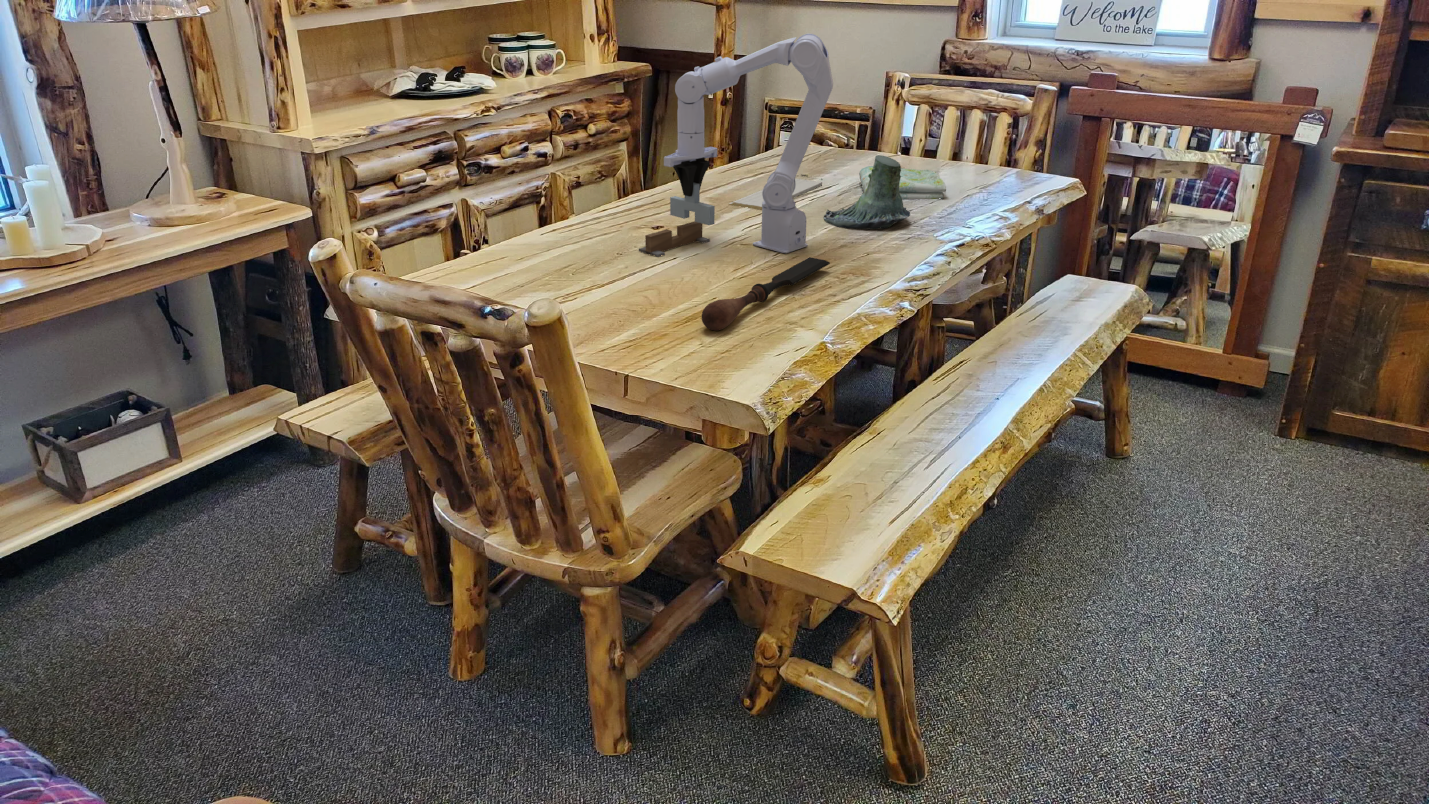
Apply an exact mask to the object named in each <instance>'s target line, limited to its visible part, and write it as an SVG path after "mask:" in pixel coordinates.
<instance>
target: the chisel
mask: <svg viewBox="0 0 1429 804" xmlns="http://www.w3.org/2000/svg"><path fill="white" fill-rule="evenodd" d="M830 264H831V263H830V261H828V260H826V259H821V258H818V257H817V258H816V257H812V256H811V257H807V258H805V259H804V260H802V261H800V262H798V263H797V264H795V265H793V266H791V267H789V268H787V269H786V270H784V271H781V272H779V273H778V274H776V275H775V276H773V277H772V278H771V281H770V282H766V283H755V284H754V285H753V286H752V287H751V290H749V291H748V293H746V294H745V295H743V296H740V297H737V298H736V297H735V298H722V299H717V300H715V301H712V302H709V303H708V304H707V305H705V307H704V308H703V310H702V313H701V322H702V324H703V325H704V326H705V328H707V329H709V330H711V331H720V330H723V329H726V328H727V327H728V326H730V325H731V324H732V323H733V322H734V320H735V319H736V318H737V317H738V315H739V314H740V313H741V312H742V310H744V308H746V307H747V306H748V305H751V304H752V303H753V304H754V303H765V302H766V301H767V300H768V298H769V295H770V294H772V293H773V292H774V291H775V290H777V289H779V288H781V287H786V286H793V285H795V284H797V283H798V282H801V281H802V280H804V279H806V278H808V277H809V276H811V275H813V274H814V273H817V272H818V271H820V270H823V268H825V267H827V266H829V265H830Z"/></svg>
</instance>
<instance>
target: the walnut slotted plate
mask: <svg viewBox="0 0 1429 804" xmlns="http://www.w3.org/2000/svg"><path fill="white" fill-rule="evenodd" d="M644 236H645V237H644V238H645V240H644V241H645V246H644V247H641V248H638V252H639V251H641V252H640V253H642V252H643V254H647V255H649V254H650V256H653V255H655V256H654V257H657V258H659V257H662V256H661V255H664V256H665V255H666V252H665V251H664V250H666V251H669V250H672V249H676V248H679V247H681V246H685V245H689V244H692V243H695V242H698V243H700V244H705V243H709V242H710V241H711V240H710V238H709V237H705V236H703V224H702V223H698V222H695V220H694V221H691V222H688V223H685V224H680V225H677V226H676V235H673V230H672V229H671V230H670V229H667V228H666V229H662V230H659V231H656V232H652V233H649V234H646V235H644ZM675 247H676V248H675ZM668 249H669V250H668ZM662 251H663V252H662Z"/></svg>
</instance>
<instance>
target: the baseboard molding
mask: <svg viewBox="0 0 1429 804" xmlns="http://www.w3.org/2000/svg"><path fill="white" fill-rule="evenodd" d="M808 176H809V175H808V174H802V173H800V177H803V178H804V177H806V178H809V180H808V179H803V178H802V179H801V178H797V177H795V183H796V187H795V190H794V192H793V194H792V198H793V199H794V198H796V197H799V196H802V195H804V194H805V193H808V192H810V191H813V190H815V189H817V188H819V187H822V186H823V178H820V180H821V181H817V180H818V178H816V177H815V178H814V179H817V180H816V181H815V180H810V178H811V177H808ZM762 191H763V189H761V190H758V191H755V192H754V193H751V194H749V195H746V196H743V197H742V198H739V199H737V200H734V201H731V202H729V203H728V204H727V205H728V206H733V205H734V207H739V206H741V207H740V208H745V207H748V208H747V209H752V210H757V211H758V210H759V211H762V202H763V201H764V199H763V196H762Z"/></svg>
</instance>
